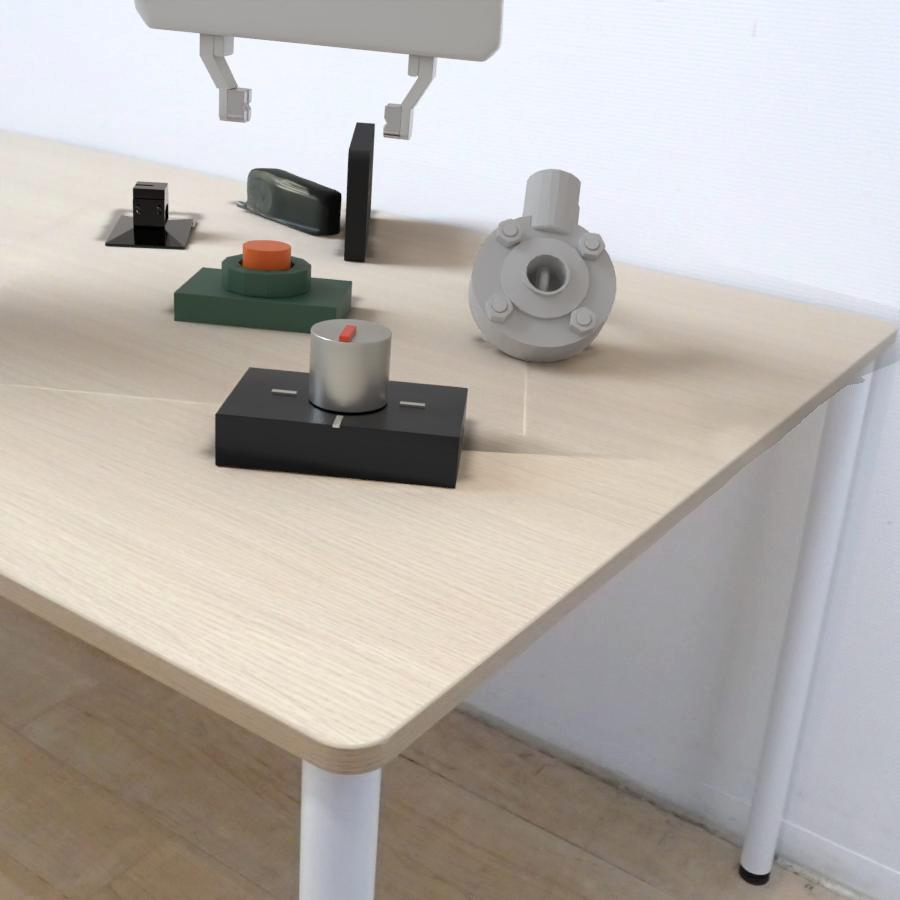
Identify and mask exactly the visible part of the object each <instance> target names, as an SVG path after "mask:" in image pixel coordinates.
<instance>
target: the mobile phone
mask: <svg viewBox="0 0 900 900" xmlns="http://www.w3.org/2000/svg"><path fill="white" fill-rule="evenodd" d="M246 179H247V180H246V201H245V202H243V201H236V207H237V208H240V209H242V210H245V211H248V212H251V213H254V214H256V215H260V216H262V217H264V218H267V219H269V220H272V221H275V222H278V223H281V224H283V225H285V226H287V227H289V228H292V229H295V230H298V231H301V232H304V233H306V234H309V235H312V236H317V237H330V236H337V235H339V234H340V232H341V215H342V214H341V213H342V196H343V195H342V192H340V191H339V190H336V189H334V188H331V187H328V186H326V185H323V184H321V183H317V182H315V181H313V180H310V179H308V178H304V177H301V176H300V175H299V176H298V175H296V174H294V173H292V172H290V171H287V170H284V169H281V168H275V167H273V168H271V167H256V168H253V169H250V171H249V172H248V174H247V178H246Z"/></svg>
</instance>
